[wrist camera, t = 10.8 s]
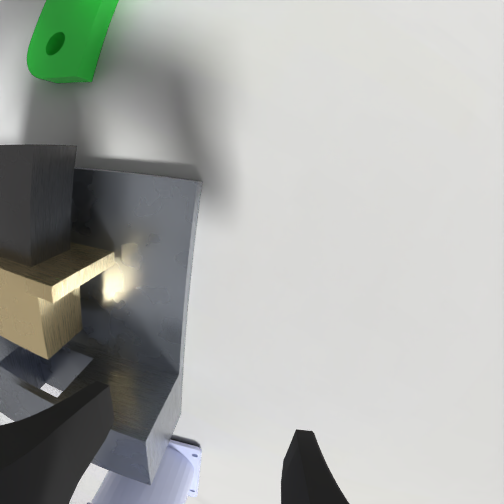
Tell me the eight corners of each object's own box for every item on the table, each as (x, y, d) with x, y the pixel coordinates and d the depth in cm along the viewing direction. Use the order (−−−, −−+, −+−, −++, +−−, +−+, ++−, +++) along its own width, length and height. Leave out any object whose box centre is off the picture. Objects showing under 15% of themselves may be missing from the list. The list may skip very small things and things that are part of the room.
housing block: (180, 413, 22) (150, 485, 15) (14, 348, 23) (-33, 386, 16) (202, 181, 17) (147, 191, 10) (-2, 163, 18) (-72, 171, 11)
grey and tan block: (114, 330, 19) (65, 381, 13) (21, 297, 19) (-31, 329, 13) (123, 148, 16) (54, 144, 10) (20, 145, 16) (-45, 147, 10)
